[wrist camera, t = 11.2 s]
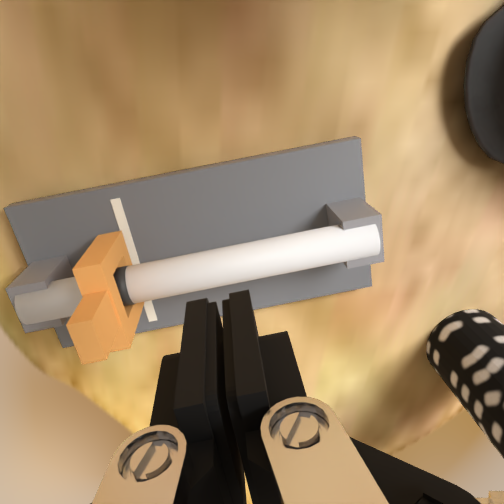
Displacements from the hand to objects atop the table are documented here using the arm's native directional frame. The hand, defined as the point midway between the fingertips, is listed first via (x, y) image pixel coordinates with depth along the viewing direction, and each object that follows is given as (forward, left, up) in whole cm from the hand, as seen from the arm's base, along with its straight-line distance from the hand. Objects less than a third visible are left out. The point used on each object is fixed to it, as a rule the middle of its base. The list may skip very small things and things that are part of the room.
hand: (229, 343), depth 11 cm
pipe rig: (+3, +7, -27) cm, 28 cm away
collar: (+10, +7, -25) cm, 27 cm away
